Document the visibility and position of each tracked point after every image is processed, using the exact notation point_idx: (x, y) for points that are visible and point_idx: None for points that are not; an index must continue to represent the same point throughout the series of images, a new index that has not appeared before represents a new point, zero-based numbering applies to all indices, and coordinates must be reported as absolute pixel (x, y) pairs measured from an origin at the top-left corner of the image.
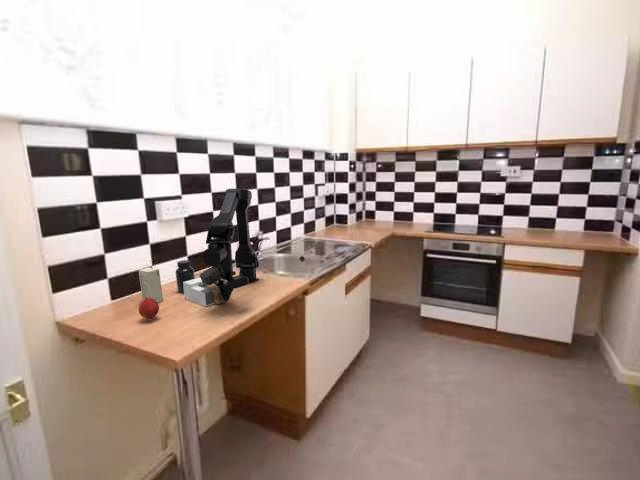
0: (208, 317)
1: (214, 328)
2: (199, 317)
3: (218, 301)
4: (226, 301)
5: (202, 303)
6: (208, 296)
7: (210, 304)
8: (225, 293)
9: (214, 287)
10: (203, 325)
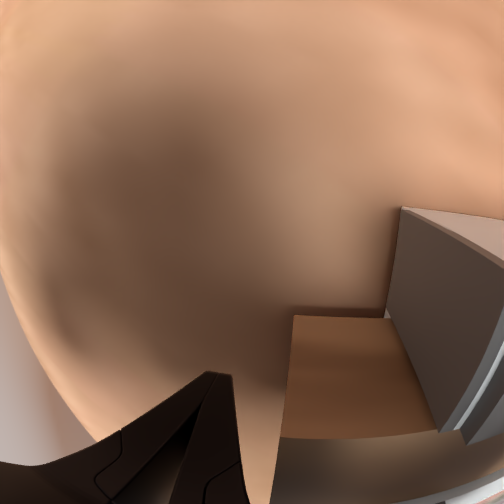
0: (118, 62)
1: (9, 60)
2: (186, 3)
3: (293, 339)
4: (206, 375)
5: (473, 218)
6: (442, 300)
7: (395, 270)
8: (112, 435)
9: (479, 468)
10: (63, 10)
